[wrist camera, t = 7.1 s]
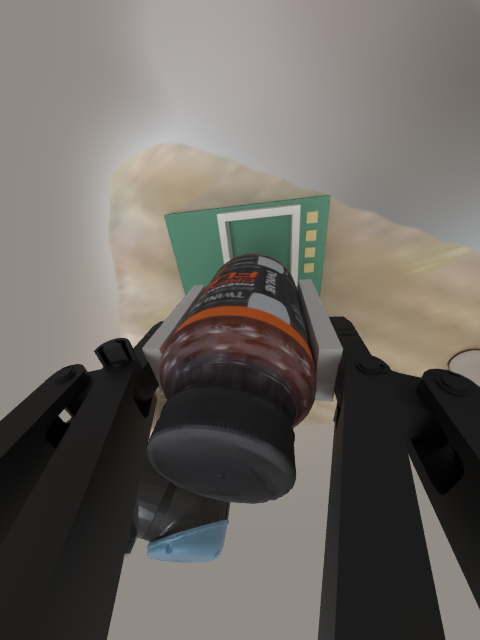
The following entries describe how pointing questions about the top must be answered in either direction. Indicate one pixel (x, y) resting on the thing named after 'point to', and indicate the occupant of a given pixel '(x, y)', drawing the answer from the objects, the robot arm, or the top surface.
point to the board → (251, 238)
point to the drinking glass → (467, 365)
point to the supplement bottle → (236, 386)
